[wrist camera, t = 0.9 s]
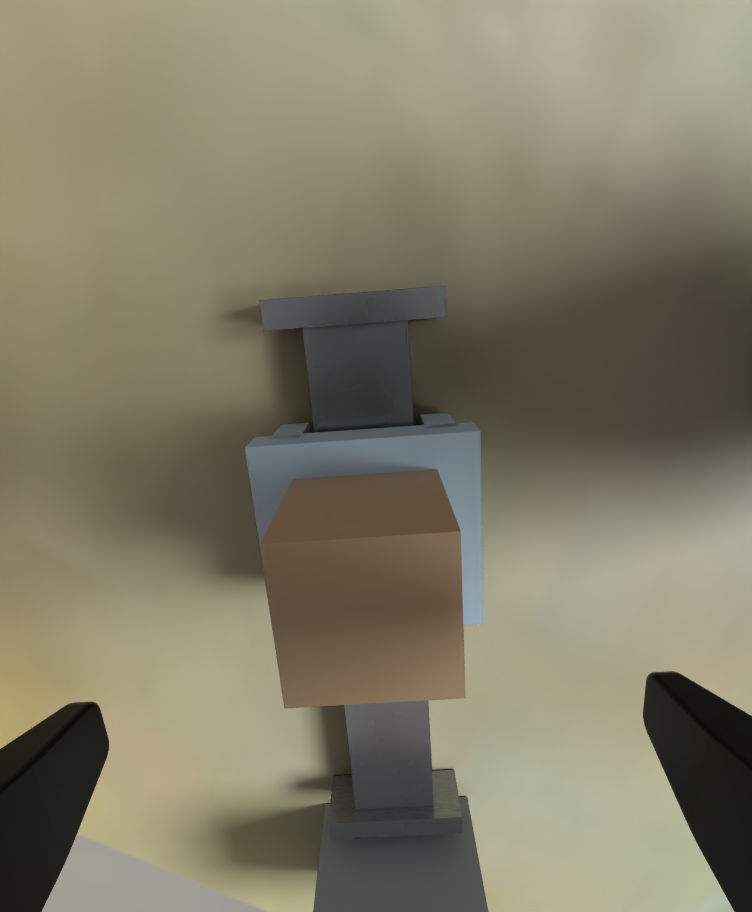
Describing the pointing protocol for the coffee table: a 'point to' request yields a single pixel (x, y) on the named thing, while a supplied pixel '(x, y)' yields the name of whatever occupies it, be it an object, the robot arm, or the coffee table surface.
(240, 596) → the coffee table surface
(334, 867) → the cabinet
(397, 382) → the rail
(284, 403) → the coffee table surface
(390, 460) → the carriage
